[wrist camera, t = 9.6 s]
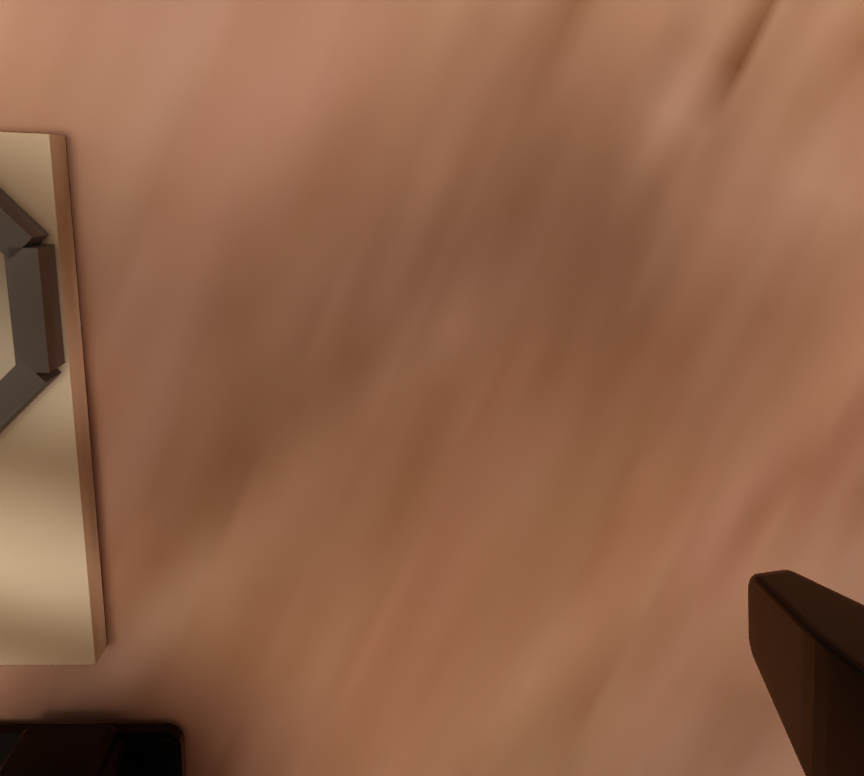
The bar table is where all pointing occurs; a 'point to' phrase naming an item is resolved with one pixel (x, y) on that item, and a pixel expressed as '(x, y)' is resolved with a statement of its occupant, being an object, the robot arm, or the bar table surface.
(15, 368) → the birch board
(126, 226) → the bar table surface
